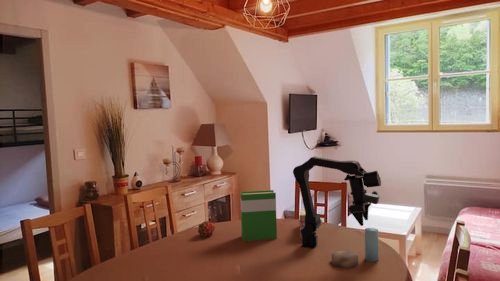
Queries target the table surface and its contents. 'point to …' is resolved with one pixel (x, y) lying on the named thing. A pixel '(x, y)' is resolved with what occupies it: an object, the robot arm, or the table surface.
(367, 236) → the blue-grey cylinder
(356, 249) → the table surface
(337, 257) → the walnut base
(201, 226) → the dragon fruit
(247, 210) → the hardback book
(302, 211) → the stack of blocks
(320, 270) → the table surface
